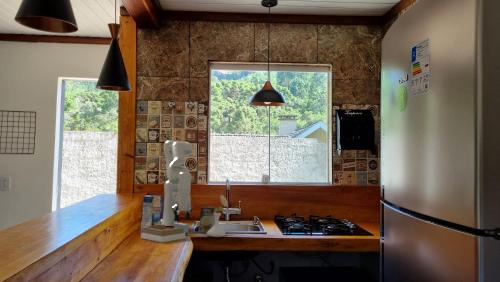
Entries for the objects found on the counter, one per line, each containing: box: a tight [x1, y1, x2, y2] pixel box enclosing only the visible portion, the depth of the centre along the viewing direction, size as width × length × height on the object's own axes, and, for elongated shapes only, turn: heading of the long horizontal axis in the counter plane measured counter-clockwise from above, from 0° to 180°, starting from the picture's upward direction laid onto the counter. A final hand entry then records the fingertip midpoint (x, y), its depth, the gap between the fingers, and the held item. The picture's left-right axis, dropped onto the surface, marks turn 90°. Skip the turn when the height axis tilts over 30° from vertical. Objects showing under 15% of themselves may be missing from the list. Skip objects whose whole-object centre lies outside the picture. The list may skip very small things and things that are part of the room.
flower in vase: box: [205, 194, 229, 238], centre depth 210 cm, size 13×11×25 cm
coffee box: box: [198, 206, 217, 234], centre depth 222 cm, size 9×6×16 cm
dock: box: [140, 225, 186, 243], centre depth 194 cm, size 16×18×6 cm
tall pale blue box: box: [172, 222, 190, 235], centre depth 212 cm, size 8×5×6 cm, turn 57°
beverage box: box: [140, 194, 164, 235], centre depth 210 cm, size 7×11×22 cm, turn 164°
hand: (182, 220), depth 211 cm, fingers open, 9 cm apart
